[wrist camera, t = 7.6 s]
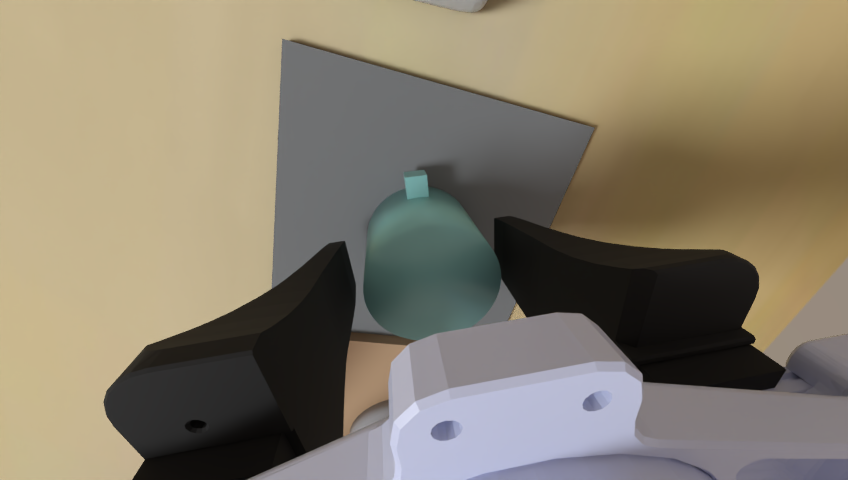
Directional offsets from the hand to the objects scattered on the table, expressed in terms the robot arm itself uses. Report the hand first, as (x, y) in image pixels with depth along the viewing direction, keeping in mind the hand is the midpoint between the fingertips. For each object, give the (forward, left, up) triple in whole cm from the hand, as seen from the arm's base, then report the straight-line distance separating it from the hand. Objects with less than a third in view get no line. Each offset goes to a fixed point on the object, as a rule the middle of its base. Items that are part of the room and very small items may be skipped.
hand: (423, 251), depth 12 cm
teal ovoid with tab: (0, 0, -2) cm, 2 cm away
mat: (0, 0, -2) cm, 2 cm away
